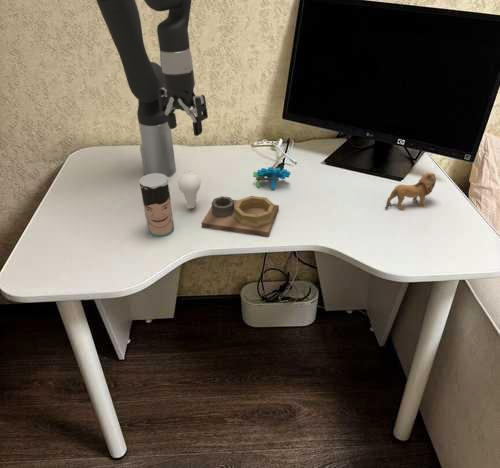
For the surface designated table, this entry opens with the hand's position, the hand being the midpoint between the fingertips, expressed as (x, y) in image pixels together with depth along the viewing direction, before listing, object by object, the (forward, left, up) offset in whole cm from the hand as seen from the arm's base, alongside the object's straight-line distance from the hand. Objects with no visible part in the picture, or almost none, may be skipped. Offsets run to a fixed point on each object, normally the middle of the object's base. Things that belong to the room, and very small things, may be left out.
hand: (185, 131), depth 120 cm
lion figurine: (+60, +12, -21) cm, 65 cm away
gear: (+20, +14, -21) cm, 33 cm away
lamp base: (+16, -6, -21) cm, 27 cm away
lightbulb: (+1, -4, -21) cm, 22 cm away
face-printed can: (-3, -16, -21) cm, 27 cm away
